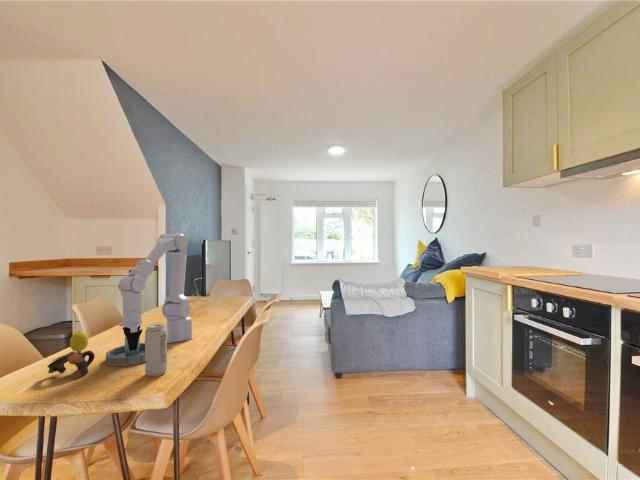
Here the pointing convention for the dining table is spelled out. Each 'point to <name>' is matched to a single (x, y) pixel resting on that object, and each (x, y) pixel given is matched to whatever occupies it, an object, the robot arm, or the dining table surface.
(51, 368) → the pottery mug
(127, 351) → the teal cup
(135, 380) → the dining table surface
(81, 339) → the lemon
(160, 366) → the energy drink can
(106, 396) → the dining table surface
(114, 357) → the tray
